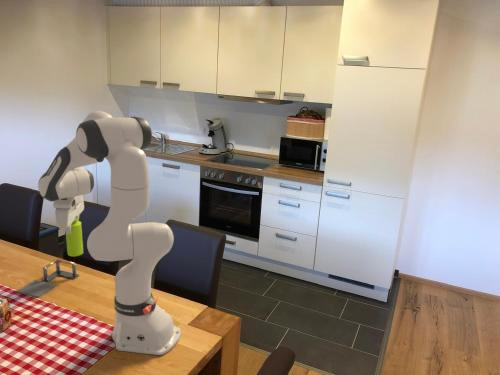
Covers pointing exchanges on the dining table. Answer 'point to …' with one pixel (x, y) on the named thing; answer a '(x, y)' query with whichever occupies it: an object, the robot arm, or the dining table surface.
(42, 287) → the mat
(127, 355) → the dining table surface
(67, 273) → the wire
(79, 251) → the soap dispenser
